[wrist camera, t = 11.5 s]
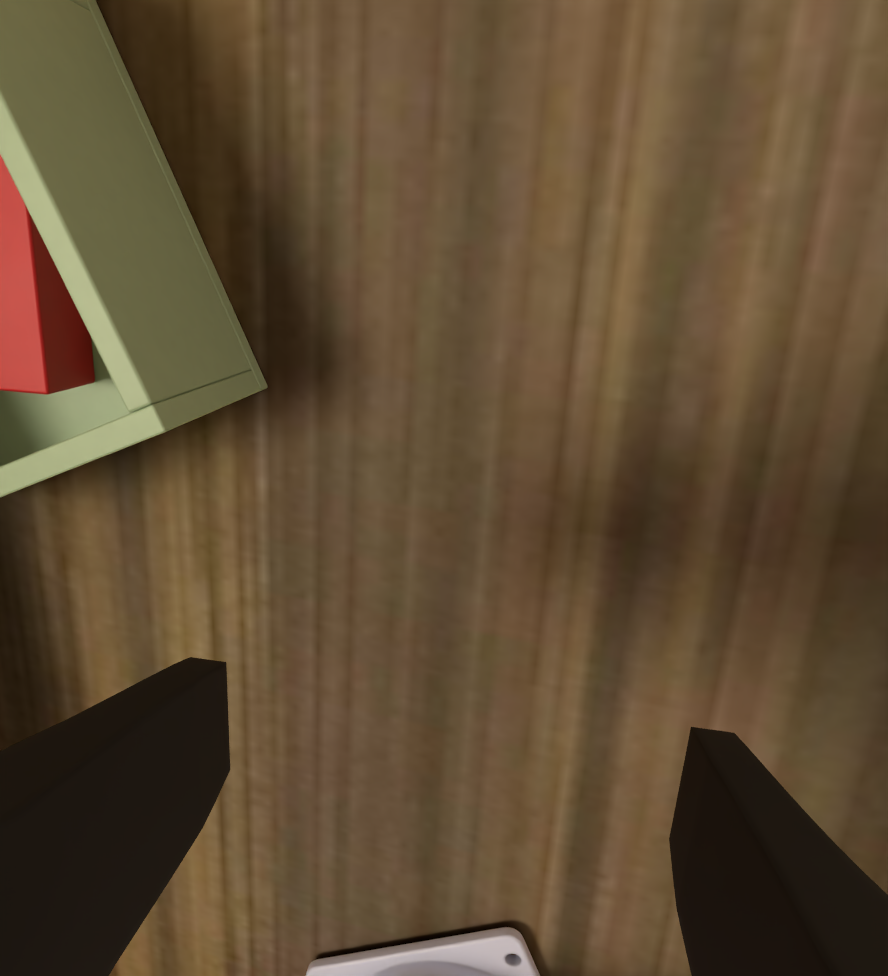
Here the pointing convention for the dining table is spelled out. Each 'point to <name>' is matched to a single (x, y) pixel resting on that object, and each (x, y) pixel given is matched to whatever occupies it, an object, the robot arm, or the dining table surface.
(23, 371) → the red rectangular block
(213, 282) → the green open box
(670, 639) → the dining table surface
